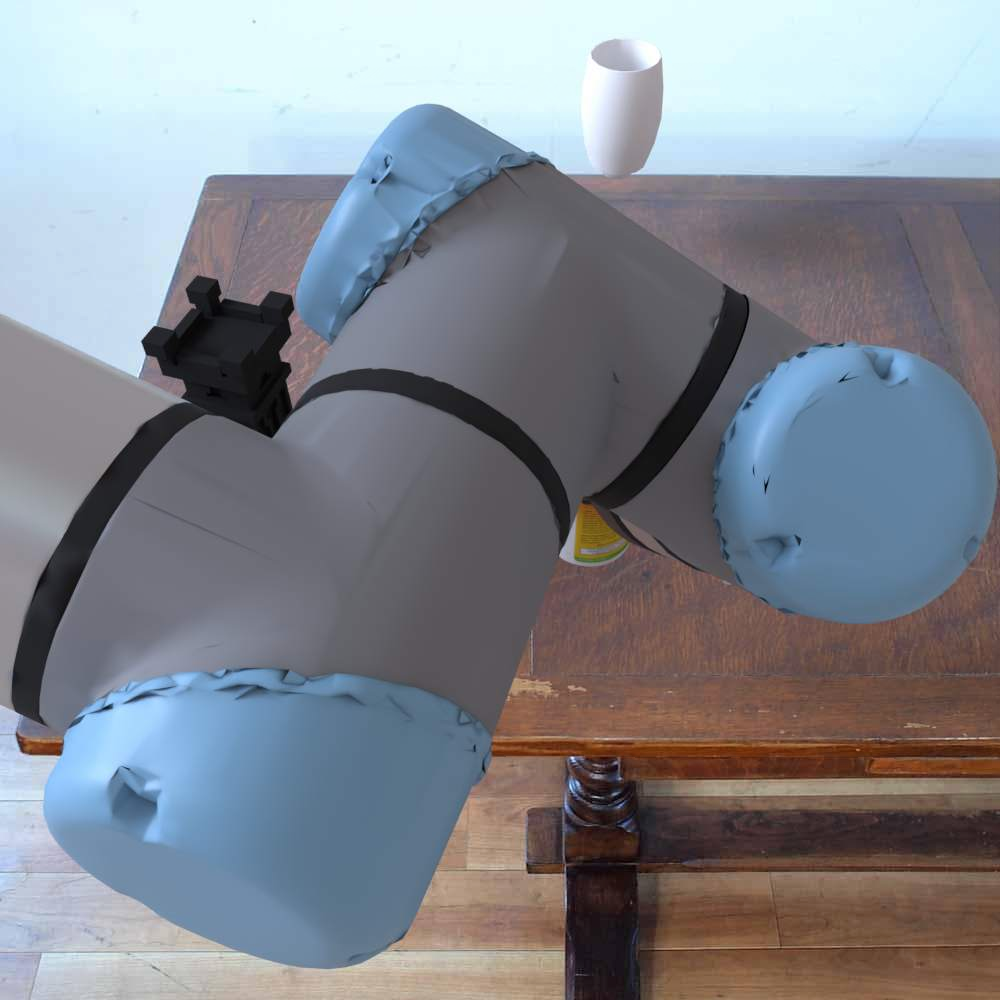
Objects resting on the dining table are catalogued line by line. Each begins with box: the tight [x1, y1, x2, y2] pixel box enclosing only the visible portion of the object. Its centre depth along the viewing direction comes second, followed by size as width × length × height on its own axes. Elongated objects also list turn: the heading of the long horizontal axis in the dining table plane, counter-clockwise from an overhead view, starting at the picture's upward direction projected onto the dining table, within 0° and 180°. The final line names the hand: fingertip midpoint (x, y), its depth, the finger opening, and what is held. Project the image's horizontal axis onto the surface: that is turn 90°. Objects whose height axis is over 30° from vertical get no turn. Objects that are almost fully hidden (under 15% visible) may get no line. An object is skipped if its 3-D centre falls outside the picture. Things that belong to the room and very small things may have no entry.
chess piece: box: [140, 274, 296, 438], centre depth 75 cm, size 8×8×20 cm
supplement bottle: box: [559, 502, 631, 568], centre depth 61 cm, size 5×5×10 cm
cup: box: [580, 37, 664, 180], centre depth 96 cm, size 7×7×21 cm
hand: (575, 454), depth 64 cm, fingers closed on supplement bottle, 5 cm apart
